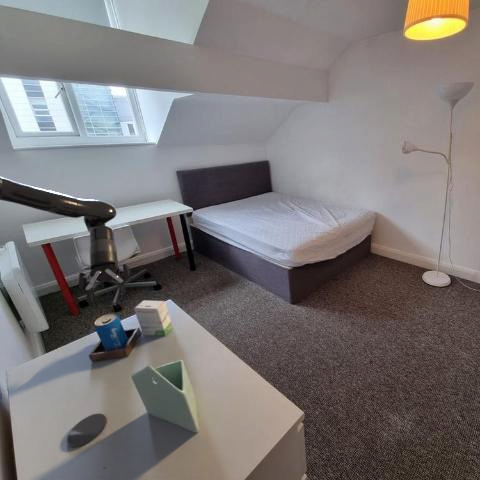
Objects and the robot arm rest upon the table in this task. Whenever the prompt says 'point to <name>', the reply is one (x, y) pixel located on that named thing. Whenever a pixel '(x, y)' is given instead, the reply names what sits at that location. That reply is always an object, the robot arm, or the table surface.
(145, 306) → the ink box
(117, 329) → the beverage can
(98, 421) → the coaster
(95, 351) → the tray
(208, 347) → the table surface
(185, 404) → the planter
